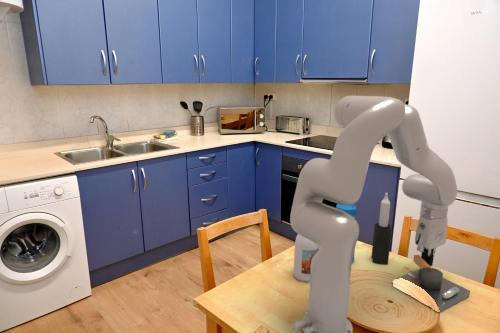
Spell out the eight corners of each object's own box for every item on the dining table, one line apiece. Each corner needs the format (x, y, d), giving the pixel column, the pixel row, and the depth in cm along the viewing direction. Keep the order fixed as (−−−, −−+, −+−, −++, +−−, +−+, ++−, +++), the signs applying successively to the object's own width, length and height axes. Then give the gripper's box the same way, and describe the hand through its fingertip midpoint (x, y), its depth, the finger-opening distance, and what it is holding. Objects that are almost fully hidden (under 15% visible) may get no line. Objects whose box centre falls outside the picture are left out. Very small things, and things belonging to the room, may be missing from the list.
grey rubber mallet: (444, 289, 100) (447, 276, 99) (425, 289, 100) (427, 276, 99) (423, 267, 113) (425, 254, 112) (406, 267, 113) (407, 254, 112)
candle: (388, 265, 118) (396, 195, 113) (372, 263, 119) (379, 194, 114) (385, 258, 123) (393, 191, 117) (370, 256, 124) (377, 190, 118)
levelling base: (438, 313, 94) (440, 300, 93) (391, 285, 106) (392, 274, 105) (469, 296, 101) (471, 285, 100) (422, 273, 113) (423, 262, 113)
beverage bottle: (354, 267, 117) (359, 211, 112) (328, 263, 119) (332, 208, 115) (354, 256, 124) (359, 203, 120) (330, 252, 127) (334, 200, 122)
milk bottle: (291, 279, 109) (293, 220, 104) (295, 267, 116) (298, 211, 111) (316, 284, 107) (319, 223, 102) (318, 271, 114) (322, 214, 109)
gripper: (430, 219, 102) (422, 276, 106) (459, 211, 109) (450, 264, 113) (407, 211, 108) (401, 265, 112) (436, 204, 115) (429, 254, 120)
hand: (426, 264), depth 113 cm, fingers closed
